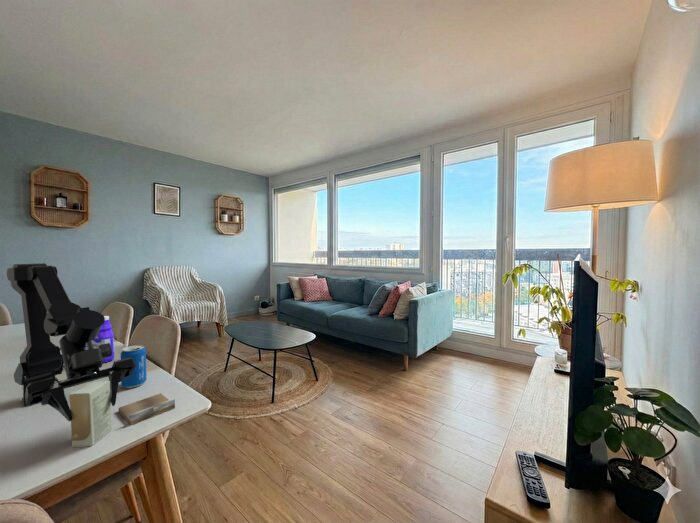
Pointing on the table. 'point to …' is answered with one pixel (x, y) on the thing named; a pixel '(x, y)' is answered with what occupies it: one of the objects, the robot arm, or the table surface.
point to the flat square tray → (146, 408)
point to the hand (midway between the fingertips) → (93, 412)
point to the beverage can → (140, 369)
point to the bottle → (105, 338)
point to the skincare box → (90, 413)
